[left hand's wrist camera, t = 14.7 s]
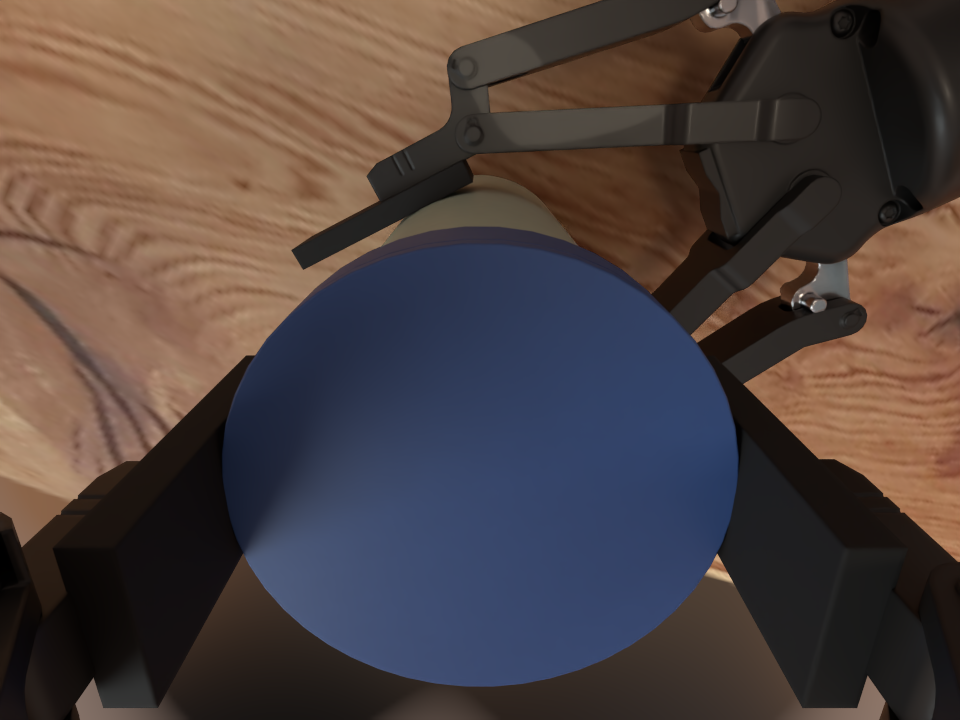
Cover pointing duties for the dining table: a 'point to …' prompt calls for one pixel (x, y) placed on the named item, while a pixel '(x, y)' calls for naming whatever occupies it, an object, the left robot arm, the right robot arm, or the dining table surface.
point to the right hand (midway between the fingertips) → (369, 353)
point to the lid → (480, 459)
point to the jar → (484, 211)
